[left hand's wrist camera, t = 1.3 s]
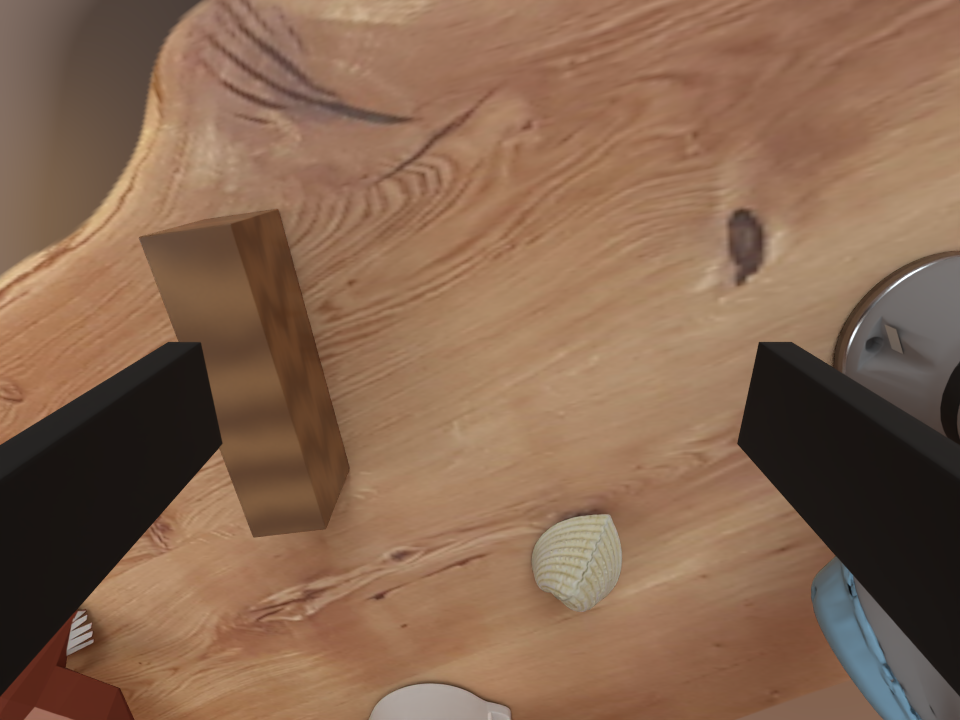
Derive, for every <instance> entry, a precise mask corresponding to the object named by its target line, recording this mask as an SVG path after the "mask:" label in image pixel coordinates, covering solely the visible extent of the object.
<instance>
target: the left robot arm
mask: <svg viewBox="0 0 960 720" xmlns="http://www.w3.org/2000/svg"><path fill="white" fill-rule="evenodd" d="M222 444H223V443H222V438H221V433H220V429H219V424H218V419H217V415H216V410H215V405H214V401H213V396H212V391H211V387H210V382H209V377H208V373H207V368H206V363H205V359H204V354H203V349H202V345H201V342H168V343H166V344H164V345H163V346H161V347H159V348H158V349H156V350H155V351H153V352H151V353H150V354H148V355H146V356H145V357H143V358H142V359H140V360H138V361H137V362H135V363H133V364H132V365H130V366H128V367H127V368H125V369H124V370H122V371H120V372H119V373H117V374H115V375H114V376H112V377H111V378H109V379H107V380H106V381H104V382H102V383H101V384H99V385H97V386H96V387H94V388H93V389H91V390H89V391H88V392H86V393H84V394H83V395H81V396H80V397H78V398H76V399H75V400H73V401H71V402H70V403H68V404H67V405H65V406H63V407H62V408H60V409H58V410H57V411H55V412H53V413H52V414H50V415H49V416H47V417H45V418H44V419H42V420H40V421H39V422H37V423H36V424H34V425H32V426H31V427H29V428H27V429H26V430H24V431H22V432H21V433H19V434H18V435H16V436H14V437H13V438H11V439H9V440H8V441H6V442H5V443H3V444H1V445H0V696H1V695H2V694H3V693H4V692H5V691H6V690H7V688H8V687H9V686H10V685H11V684H12V683H13V682H14V681H15V679H16V678H17V677H18V676H19V675H20V674H21V673H22V671H23V670H24V669H25V668H26V667H27V666H28V665H29V663H30V662H31V661H32V660H33V659H34V658H35V657H36V656H37V654H38V653H39V652H40V651H41V650H42V649H43V648H44V646H45V645H46V644H47V643H48V642H49V641H50V640H51V638H52V637H53V636H54V635H55V634H56V633H57V632H58V630H59V629H60V628H61V627H62V626H63V625H64V624H65V623H66V621H67V620H68V619H69V618H70V617H71V616H72V615H73V613H74V612H75V611H76V610H77V609H78V608H79V607H80V605H81V604H82V603H83V602H84V601H85V600H86V599H87V597H88V596H89V595H90V594H91V593H92V592H93V591H94V590H95V588H96V587H97V586H98V585H99V584H100V583H101V582H102V580H103V579H104V578H105V577H106V576H107V575H108V574H109V572H110V571H111V570H112V569H113V568H114V567H115V566H116V565H117V563H118V562H119V561H120V560H121V559H122V558H123V557H124V555H125V554H126V553H127V552H128V551H129V550H130V549H131V547H132V546H133V545H134V544H135V543H136V542H137V541H138V539H139V538H140V537H141V536H142V535H143V534H144V533H145V532H146V530H147V529H148V528H149V527H150V526H151V525H152V524H153V522H154V521H155V520H156V519H157V518H158V517H159V516H160V514H161V513H162V512H163V511H164V510H165V509H166V508H167V506H168V505H169V504H170V503H171V502H172V501H173V500H174V499H175V497H176V496H177V495H178V494H179V493H180V492H181V491H182V489H183V488H184V487H185V486H186V485H187V484H188V483H189V481H190V480H191V479H192V478H193V477H194V476H195V475H196V474H197V472H198V471H199V470H200V469H201V468H202V467H203V466H204V464H205V463H206V462H207V461H208V460H209V459H210V458H211V456H212V455H213V454H214V453H215V452H216V451H217V450H218V448H219V447H220V446H221V445H222ZM737 444H738V445H739V446H740V447H741V448H742V450H743V451H744V452H745V453H746V454H747V455H748V456H749V458H750V459H751V460H752V461H753V462H754V463H755V464H756V466H757V467H758V468H759V469H760V470H761V471H762V472H763V474H764V475H765V476H766V477H767V478H768V479H769V480H770V481H771V483H772V484H773V485H774V486H775V487H776V488H777V489H778V491H779V492H780V493H781V494H782V495H783V496H784V497H785V499H786V500H787V501H788V502H789V503H790V504H791V505H792V506H793V508H794V509H795V510H796V511H797V512H798V513H799V514H800V516H801V517H802V518H803V519H804V520H805V521H806V522H807V524H808V525H809V526H810V527H811V528H812V529H813V530H814V532H815V533H816V534H817V535H818V536H819V537H820V538H821V539H822V541H823V542H824V543H825V544H826V545H827V546H828V547H829V549H830V550H831V551H832V552H833V553H834V554H835V555H836V556H835V557H834V558H833V559H832V560H831V561H830V562H829V563H828V564H827V565H826V566H824V567H823V568H822V569H821V570H820V571H819V572H818V573H817V574H816V576H815V578H814V580H813V582H812V586H811V599H812V603H813V608H814V613H815V615H816V618H817V621H818V623H819V625H820V628H821V630H822V632H823V634H824V636H825V638H826V640H827V641H828V643H829V645H830V647H831V648H832V650H833V652H834V653H835V655H836V657H837V658H838V660H839V661H840V663H841V664H842V666H843V667H844V669H845V671H846V672H847V673H848V675H849V676H850V678H851V679H852V680H853V682H854V683H855V685H856V686H857V687H858V689H859V690H860V691H861V693H862V694H863V695H864V697H865V698H866V699H867V700H868V702H869V703H870V704H871V705H872V707H873V708H874V709H875V710H876V712H877V713H878V714H879V715H880V716H881V717H882V718H883V719H884V720H960V251H950V252H943V253H938V254H934V255H930V256H927V257H924V258H921V259H918V260H916V261H913V262H911V263H909V264H907V265H905V266H903V267H902V268H900V269H898V270H896V271H895V272H893V273H892V274H890V275H889V276H887V277H886V278H884V279H883V280H882V281H881V282H879V283H878V284H877V285H876V286H875V287H874V288H873V289H871V290H870V291H869V292H868V293H867V294H866V296H865V297H864V298H863V299H862V300H861V301H860V302H859V304H858V305H857V306H856V307H855V309H854V310H853V312H852V313H851V315H850V316H849V318H848V320H847V321H846V323H845V325H844V327H843V329H842V331H841V334H840V337H839V339H838V342H837V346H836V351H835V357H834V368H833V367H832V366H830V365H828V364H827V363H825V362H823V361H822V360H820V359H818V358H817V357H815V356H814V355H812V354H810V353H809V352H807V351H805V350H804V349H802V348H801V347H799V346H797V345H796V344H794V343H792V342H759V345H758V349H757V354H756V359H755V363H754V368H753V373H752V377H751V382H750V387H749V391H748V396H747V401H746V405H745V410H744V415H743V419H742V424H741V429H740V433H739V438H738V443H737Z"/></svg>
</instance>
